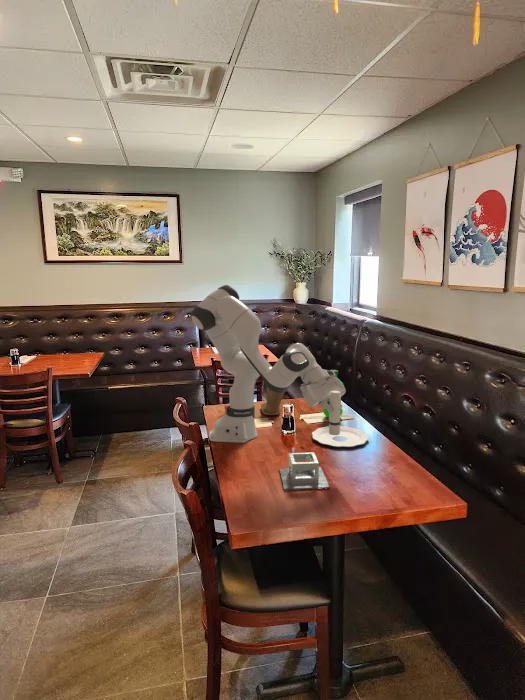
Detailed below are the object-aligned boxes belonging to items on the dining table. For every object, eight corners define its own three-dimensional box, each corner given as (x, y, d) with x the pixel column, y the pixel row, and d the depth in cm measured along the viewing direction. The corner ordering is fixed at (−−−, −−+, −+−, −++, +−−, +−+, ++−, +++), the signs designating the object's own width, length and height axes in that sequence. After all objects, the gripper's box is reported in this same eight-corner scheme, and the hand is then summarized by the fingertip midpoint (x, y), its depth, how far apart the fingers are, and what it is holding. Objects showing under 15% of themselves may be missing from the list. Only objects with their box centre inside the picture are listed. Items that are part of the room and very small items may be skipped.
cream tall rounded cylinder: (330, 435, 165) (330, 393, 162) (327, 431, 169) (328, 390, 166) (341, 435, 165) (342, 393, 163) (338, 431, 170) (339, 390, 167)
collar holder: (284, 490, 154) (284, 468, 153) (279, 470, 170) (279, 449, 169) (329, 489, 155) (330, 466, 154) (320, 468, 171) (321, 448, 170)
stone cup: (285, 416, 231) (285, 388, 229) (262, 417, 231) (262, 389, 228) (282, 407, 246) (282, 381, 244) (260, 408, 246) (260, 381, 243)
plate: (333, 454, 184) (334, 450, 184) (301, 435, 206) (301, 431, 206) (380, 443, 196) (380, 439, 195) (344, 426, 218) (344, 422, 217)
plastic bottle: (330, 413, 236) (331, 367, 231) (346, 418, 228) (348, 370, 224) (318, 417, 229) (319, 370, 225) (334, 422, 222) (335, 374, 217)
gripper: (302, 380, 161) (324, 411, 156) (336, 370, 175) (356, 399, 170) (293, 389, 165) (313, 420, 160) (326, 379, 179) (346, 408, 174)
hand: (336, 409), depth 165 cm, fingers closed on cream tall rounded cylinder, 4 cm apart
